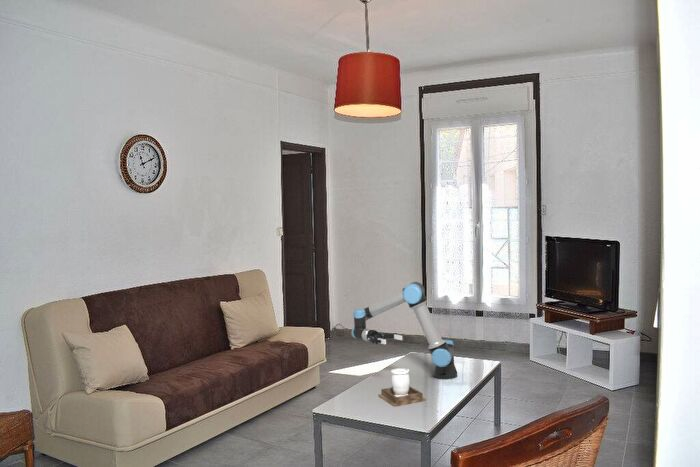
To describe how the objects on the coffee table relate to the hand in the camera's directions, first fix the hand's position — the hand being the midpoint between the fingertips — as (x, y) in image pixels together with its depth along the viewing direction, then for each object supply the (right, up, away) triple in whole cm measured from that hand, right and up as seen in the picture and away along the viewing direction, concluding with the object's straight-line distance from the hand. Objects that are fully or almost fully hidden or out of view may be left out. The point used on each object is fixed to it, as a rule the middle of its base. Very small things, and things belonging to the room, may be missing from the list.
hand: (393, 340), depth 329 cm
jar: (+3, -29, -17) cm, 34 cm away
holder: (+3, -30, -17) cm, 35 cm away
